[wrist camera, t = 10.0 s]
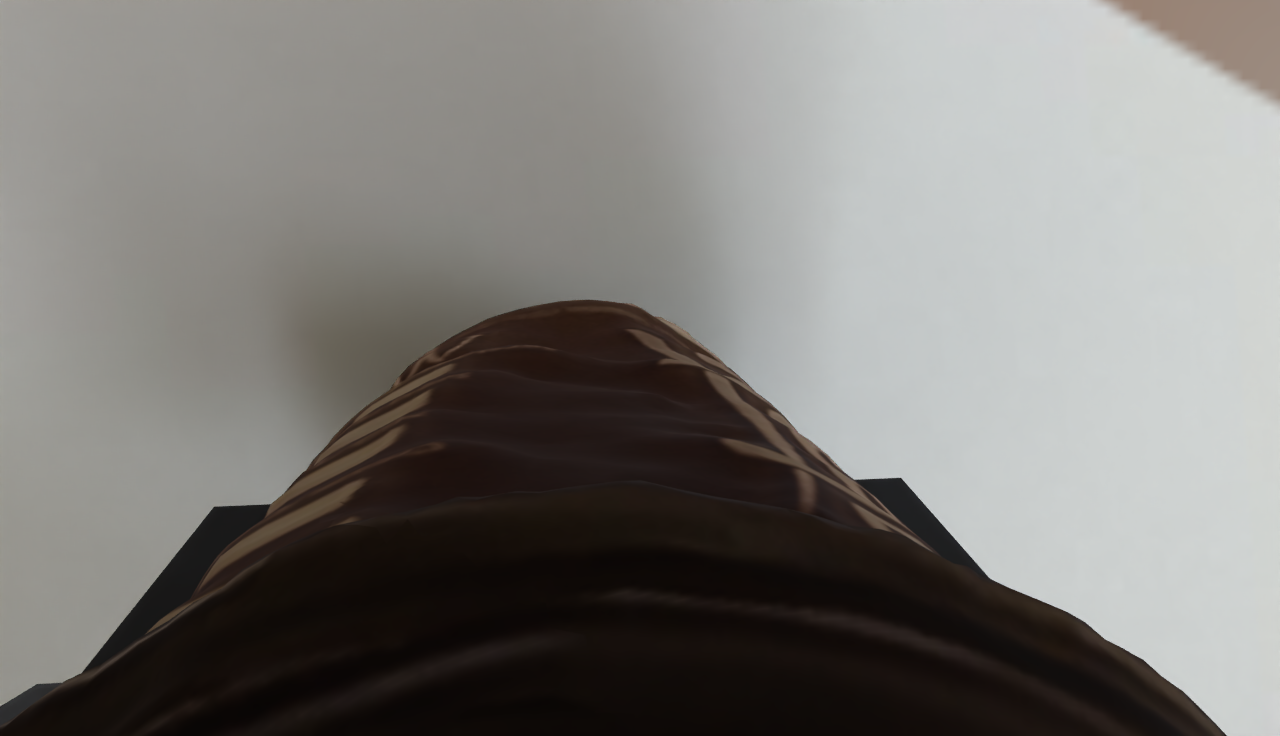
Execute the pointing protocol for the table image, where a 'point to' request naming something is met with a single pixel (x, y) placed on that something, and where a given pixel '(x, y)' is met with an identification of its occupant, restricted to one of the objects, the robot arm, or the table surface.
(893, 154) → the table surface
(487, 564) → the coffee cup
